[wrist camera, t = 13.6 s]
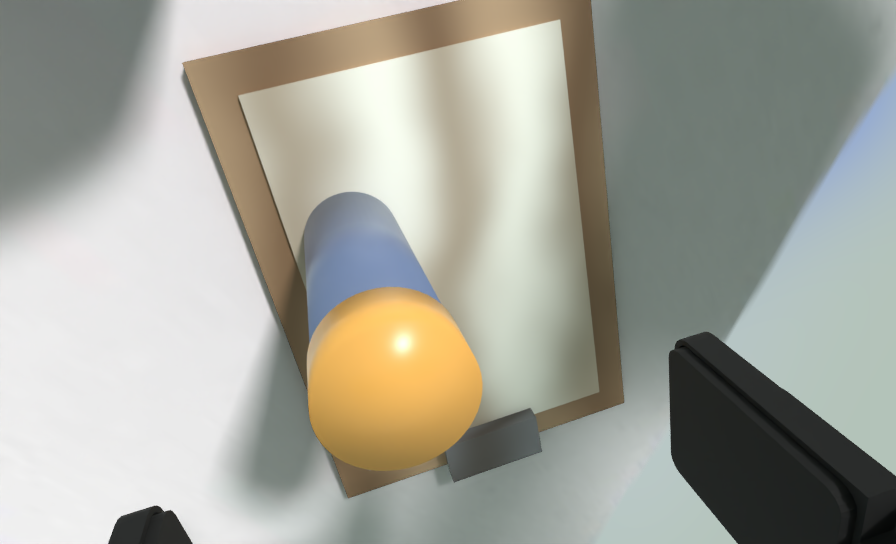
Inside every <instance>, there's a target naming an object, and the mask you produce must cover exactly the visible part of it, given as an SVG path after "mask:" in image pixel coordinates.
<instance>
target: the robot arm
mask: <svg viewBox="0 0 896 544" xmlns="http://www.w3.org/2000/svg"><path fill="white" fill-rule="evenodd" d="M669 387H670V429H671V455H672V459H673V462H674V464H675V466H676V468H677V470H678V471H679V473H680V474H681V475H682V476H683V477H684V479H685V480H686V481H687V482H688V484H689V485H690V486H691V487H692V488H693V490H694V491H695V492H696V493H697V495H698V496H699V497H700V498H701V499H702V501H703V502H704V503H705V504H706V506H707V507H708V508H709V509H710V510H711V512H712V513H713V514H714V515H715V516H716V518H717V519H718V520H719V521H720V523H721V524H722V525H723V526H724V527H725V529H726V530H727V531H728V532H729V534H730V535H731V536H732V537H733V538H734V540H735V541H736V542H737V543H738V544H896V476H895V475H893V474H892V473H891V472H889V471H888V470H887V469H886V468H885V467H883V466H882V465H881V464H880V463H878V462H877V461H876V460H874V459H873V458H872V457H871V456H869V455H868V454H867V453H865V452H864V451H863V450H861V449H860V448H859V447H858V446H856V445H855V444H854V443H852V442H851V441H850V440H848V439H847V438H846V437H845V436H844V435H842V434H841V433H839V432H838V431H837V430H836V429H834V428H833V427H832V426H831V425H829V424H828V423H827V422H826V421H824V420H823V419H822V418H821V417H819V416H818V415H817V414H815V413H814V412H813V411H812V410H810V409H809V408H807V407H806V406H805V405H804V404H803V403H801V402H800V401H799V400H797V399H796V398H795V397H794V396H792V395H791V394H790V393H788V392H787V391H785V390H784V389H782V388H780V387H779V386H778V385H777V384H775V383H774V382H773V381H771V380H770V379H769V378H768V377H766V376H765V375H764V374H762V373H761V372H760V371H759V370H757V369H756V368H755V367H754V366H752V365H751V364H750V363H748V362H747V361H746V360H745V359H743V358H742V357H741V356H739V355H738V354H737V353H736V352H734V351H733V350H732V349H731V348H729V347H728V346H727V345H726V344H724V343H723V342H722V341H720V340H719V339H718V338H717V337H715V336H714V335H713V334H711V333H709V332H703V333H700V334H697V335H693V336H690V337H687V338H684V339H681V340H679V341H677V342H676V344H675V350H672V351H670V353H669ZM108 544H193V543H192V542H191V540H190V538H189V537H188V535H187V533H186V532H185V530H184V528H183V527H182V525H181V523H180V522H179V520H178V518H177V516H176V515H175V514H174V512H173V511H171V510H169V511H165V512H164V511H163V510H162V509H161V507H159V506H152V507H149V508H146V509H143V510H140V511H136V512H133V513H130V514H127V515H124V516H121V517H120V518H119V519H118V520H117V522H116V524H115V526H114V529H113V532H112V535H111V537H110V540H109V543H108Z"/></svg>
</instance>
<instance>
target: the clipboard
mask: <svg viewBox="0 0 896 544" xmlns="http://www.w3.org/2000/svg"><path fill="white" fill-rule="evenodd" d="M182 64H183V66H184V69H185V71H186V74H187V77H188V79H189V82H190V85H191V87H192V90H193V92H194V95H195V98H196V100H197V103H198V106H199V108H200V111H201V113H202V116H203V119H204V121H205V124H206V126H207V129H208V132H209V134H210V137H211V140H212V142H213V145H214V147H215V150H216V153H217V155H218V158H219V161H220V163H221V166H222V168H223V171H224V174H225V176H226V179H227V182H228V184H229V187H230V189H231V192H232V195H233V197H234V200H235V203H236V205H237V208H238V210H239V213H240V216H241V218H242V221H243V223H244V226H245V229H246V231H247V234H248V237H249V239H250V242H251V244H252V247H253V250H254V252H255V255H256V258H257V260H258V263H259V265H260V268H261V271H262V273H263V276H264V279H265V281H266V284H267V286H268V289H269V292H270V294H271V297H272V300H273V302H274V305H275V307H276V310H277V313H278V315H279V318H280V321H281V323H282V326H283V328H284V331H285V334H286V336H287V339H288V341H289V344H290V347H291V349H292V352H293V355H294V357H295V360H296V362H297V365H298V368H299V370H300V373H301V376H302V378H303V381H304V383H305V386H306V389H307V391H308V383H307V352H308V347H309V344H310V343H309V324H308V306H307V287H306V268H305V250H304V230H305V226H306V223H307V220H308V218H309V216H310V214H311V213H312V211H313V210H314V209H315V208H316V207H317V206H318V205H319V204H320V203H321V202H322V201H324V200H325V199H327V198H329V197H331V196H333V195H336V194H339V193H343V192H361V193H365V194H368V195H371V196H373V197H375V198H377V199H379V200H380V201H382V202H383V203H384V204H385V205H386V206H387V207H388V208H389V209H390V211H391V212H392V214H393V216H394V217H395V219H396V221H397V223H398V225H399V227H400V228H401V230H402V232H403V234H404V236H405V238H406V240H407V241H408V243H409V245H410V247H411V249H412V251H413V252H414V254H415V256H416V258H417V260H418V262H419V264H420V265H421V267H422V269H423V271H424V273H425V275H426V276H427V278H428V280H429V282H430V284H431V286H432V288H433V289H434V291H435V293H436V295H437V297H438V299H439V300H440V302H441V304H442V305H443V306H444V307H445V308H446V309H447V310H448V311H449V313H450V314H451V316H452V317H453V319H454V320H455V322H456V324H457V326H458V328H459V329H460V331H461V333H462V335H463V337H464V338H465V340H466V342H467V344H468V346H469V347H470V349H471V351H472V353H473V355H474V356H475V358H476V360H477V363H478V365H479V368H480V371H481V375H482V383H483V387H482V398H481V403H480V406H479V409H478V412H477V414H476V416H475V418H474V420H473V422H472V424H471V425H470V427H469V428H468V430H467V431H466V432H465V433H464V435H463V436H462V437H461V438H460V439H459V440H458V441H457V442H456V443H455V444H454V445H453V446H451V447H450V448H449V449H448V450H446V451H445V452H443V453H442V454H440V455H439V456H437V457H435V458H433V459H431V460H429V461H427V462H425V463H422V464H420V465H417V466H414V467H410V468H406V469H400V470H392V471H374V470H367V469H362V468H359V467H355V466H352V465H350V464H347V463H345V462H343V461H342V460H340V459H338V458H336V457H335V456H334V455H332V457H333V459H334V462H335V465H336V467H337V470H338V473H339V475H340V478H341V480H342V483H343V486H344V488H345V491H346V494H347V496H348V498H351V497H353V496H356V495H359V494H362V493H365V492H368V491H371V490H374V489H377V488H379V487H382V486H385V485H388V484H391V483H394V482H397V481H400V480H403V479H405V478H408V477H411V476H414V475H417V474H420V473H423V472H426V471H429V470H431V469H434V468H437V467H440V466H443V465H446V464H448V467H449V470H450V473H451V476H452V479H453V481H454V482H456V481H459V480H462V479H465V478H468V477H471V476H473V475H476V474H479V473H482V472H485V471H488V470H491V469H493V468H496V467H499V466H502V465H505V464H508V463H510V462H513V461H516V460H519V459H522V458H525V457H527V456H530V455H533V454H536V453H539V452H542V449H541V443H540V437H539V432H541V431H544V430H547V429H550V428H553V427H556V426H559V425H561V424H564V423H567V422H570V421H573V420H576V419H579V418H582V417H585V416H587V415H590V414H593V413H596V412H599V411H602V410H605V409H608V408H611V407H613V406H616V405H619V404H622V403H624V395H623V383H622V371H621V359H620V347H619V335H618V322H617V310H616V298H615V286H614V274H613V262H612V250H611V238H610V226H609V214H608V202H607V190H606V178H605V166H604V154H603V142H602V130H601V118H600V106H599V94H598V82H597V69H596V57H595V45H594V33H593V21H592V9H591V0H458V1H454V2H450V3H445V4H441V5H436V6H432V7H427V8H423V9H418V10H414V11H410V12H405V13H401V14H396V15H392V16H387V17H383V18H379V19H374V20H370V21H365V22H361V23H356V24H352V25H347V26H343V27H339V28H334V29H330V30H325V31H321V32H316V33H312V34H307V35H303V36H299V37H294V38H290V39H285V40H281V41H276V42H272V43H267V44H263V45H259V46H254V47H250V48H245V49H241V50H236V51H232V52H228V53H223V54H219V55H214V56H210V57H205V58H201V59H196V60H192V61H188V62H184V63H182Z"/></svg>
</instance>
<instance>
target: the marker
mask: <svg viewBox="0 0 896 544" xmlns="http://www.w3.org/2000/svg"><path fill="white" fill-rule="evenodd" d="M304 250H305V268H306V287H307V306H308V324H309V343H310V344H309V347H308V352H307V383H308V407H309V417H310V422H311V425H312V428H313V430H314V432H315V435H316V437H317V438H318V440H319V441H320V442H321V444H322V445H323V446H324V447H325V448H326V449H327V450H328V451H329V452H330V453H331V454H332V455H334V456H335V457H336V458H338V459H340V460H342V461H343V462H345V463H347V464H350V465H352V466H355V467H359V468H362V469H367V470H374V471H392V470H400V469H406V468H410V467H414V466H417V465H420V464H422V463H425V462H427V461H429V460H431V459H433V458H435V457H437V456H439V455H440V454H442V453H443V452H445V451H446V450H448V449H449V448H450V447H451V446H453V445H454V444H455V443H456V442H457V441H458V440H459V439H460V438H461V437H462V436H463V435H464V433H465V432H466V431H467V430H468V428H469V427H470V425H471V424H472V422H473V420H474V418H475V416H476V414H477V412H478V409H479V406H480V403H481V398H482V387H483V383H482V375H481V371H480V368H479V365H478V363H477V360H476V358H475V356H474V355H473V353H472V351H471V349H470V347H469V346H468V344H467V342H466V340H465V338H464V337H463V335H462V333H461V331H460V329H459V328H458V326H457V324H456V322H455V320H454V319H453V317H452V316H451V314H450V313H449V311H448V310H447V309H446V308H445V307H444V306H443V305H442V304H441V302H440V300H439V299H438V297H437V295H436V293H435V291H434V289H433V288H432V286H431V284H430V282H429V280H428V278H427V276H426V275H425V273H424V271H423V269H422V267H421V265H420V264H419V262H418V260H417V258H416V256H415V254H414V252H413V251H412V249H411V247H410V245H409V243H408V241H407V240H406V238H405V236H404V234H403V232H402V230H401V228H400V227H399V225H398V223H397V221H396V219H395V217H394V216H393V214H392V212H391V211H390V209H389V208H388V207H387V206H386V205H385V204H384V203H383V202H382V201H380V200H379V199H377V198H375V197H373V196H371V195H368V194H365V193H361V192H343V193H339V194H336V195H333V196H331V197H329V198H327V199H325V200H324V201H322V202H321V203H320V204H319V205H318V206H317V207H316V208H315V209H314V210H313V211H312V213H311V214H310V216H309V218H308V220H307V223H306V226H305V230H304Z"/></svg>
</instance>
